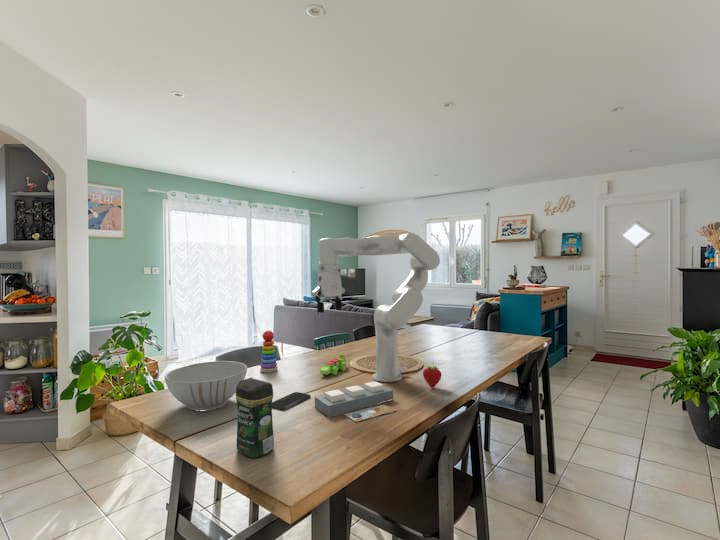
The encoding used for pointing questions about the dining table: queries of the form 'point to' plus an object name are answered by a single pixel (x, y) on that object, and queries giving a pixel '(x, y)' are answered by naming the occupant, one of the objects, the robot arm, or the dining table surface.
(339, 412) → the button board
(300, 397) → the phone
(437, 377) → the strawberry
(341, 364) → the toy crocodile
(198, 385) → the decorative bowl
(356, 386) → the middle button
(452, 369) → the dining table surface
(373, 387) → the button
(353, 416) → the pattern card
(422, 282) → the robot arm
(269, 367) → the stacking toy
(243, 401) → the coffee jar
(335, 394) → the button
